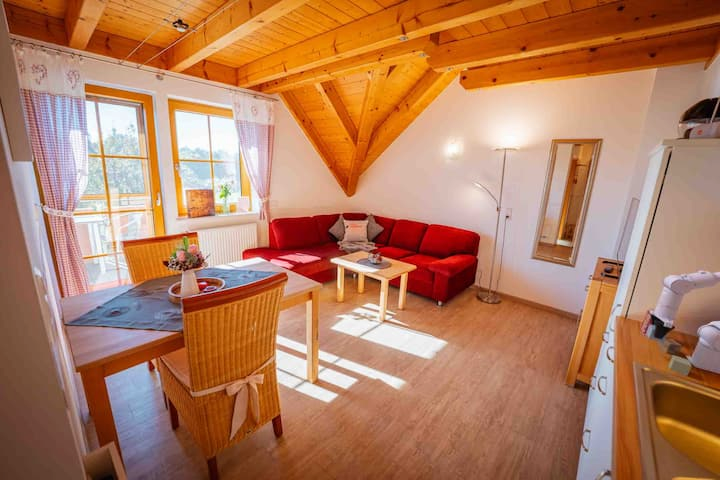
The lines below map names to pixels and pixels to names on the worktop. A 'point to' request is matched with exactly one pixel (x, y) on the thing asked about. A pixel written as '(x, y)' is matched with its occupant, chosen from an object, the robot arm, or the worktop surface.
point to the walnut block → (670, 346)
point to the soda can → (646, 322)
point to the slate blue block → (651, 334)
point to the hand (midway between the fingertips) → (656, 335)
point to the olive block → (680, 365)
